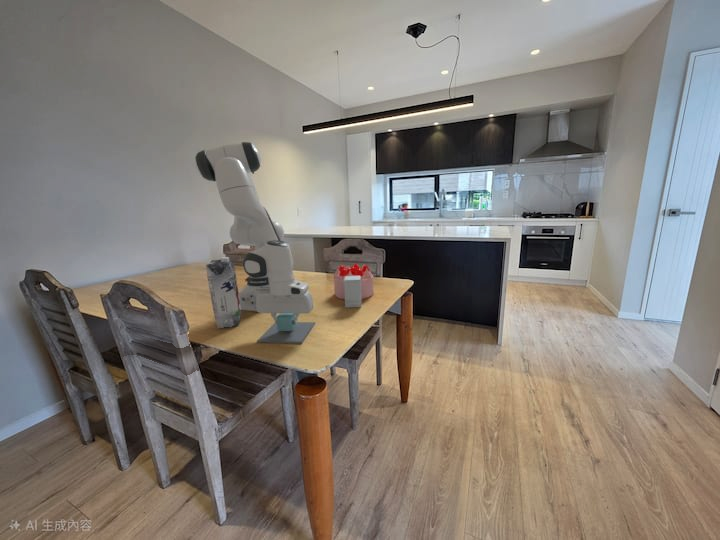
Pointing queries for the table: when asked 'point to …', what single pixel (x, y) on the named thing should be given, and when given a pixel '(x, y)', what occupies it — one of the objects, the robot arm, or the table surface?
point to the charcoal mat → (287, 334)
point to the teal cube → (285, 321)
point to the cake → (364, 272)
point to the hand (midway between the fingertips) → (286, 323)
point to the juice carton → (224, 292)
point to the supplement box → (352, 291)
